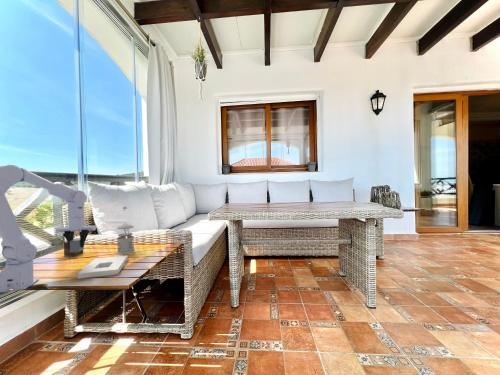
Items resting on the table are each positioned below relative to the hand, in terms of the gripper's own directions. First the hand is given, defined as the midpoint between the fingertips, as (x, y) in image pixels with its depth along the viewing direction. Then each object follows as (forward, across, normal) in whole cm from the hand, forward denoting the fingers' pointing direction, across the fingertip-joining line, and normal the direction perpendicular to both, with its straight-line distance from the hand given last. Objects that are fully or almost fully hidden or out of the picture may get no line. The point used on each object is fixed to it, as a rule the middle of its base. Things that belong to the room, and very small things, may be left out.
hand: (77, 247), depth 105 cm
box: (+9, +10, -24) cm, 28 cm away
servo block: (+2, 0, 0) cm, 2 cm away
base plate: (+9, -13, +6) cm, 16 cm away
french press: (+9, -16, -20) cm, 27 cm away
